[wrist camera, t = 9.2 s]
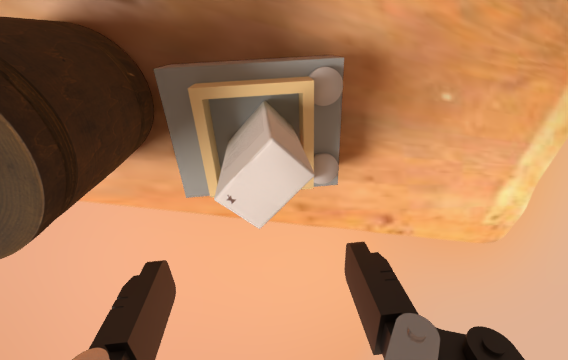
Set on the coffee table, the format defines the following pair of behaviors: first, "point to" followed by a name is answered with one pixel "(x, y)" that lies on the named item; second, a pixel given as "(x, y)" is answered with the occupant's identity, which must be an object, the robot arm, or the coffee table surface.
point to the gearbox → (251, 111)
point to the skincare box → (262, 167)
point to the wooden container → (61, 120)
